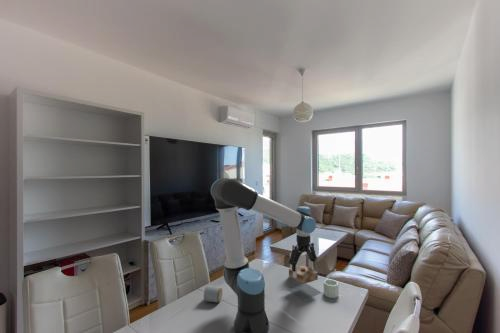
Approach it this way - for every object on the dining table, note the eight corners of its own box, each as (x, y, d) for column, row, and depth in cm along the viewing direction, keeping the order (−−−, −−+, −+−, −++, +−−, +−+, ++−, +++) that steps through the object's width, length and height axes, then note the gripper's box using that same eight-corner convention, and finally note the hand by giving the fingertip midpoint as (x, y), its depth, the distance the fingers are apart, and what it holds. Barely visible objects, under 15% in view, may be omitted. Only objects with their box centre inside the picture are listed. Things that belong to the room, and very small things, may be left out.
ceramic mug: (218, 305, 121) (218, 290, 122) (203, 304, 123) (203, 288, 123) (224, 295, 132) (224, 280, 132) (210, 293, 133) (210, 279, 133)
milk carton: (290, 276, 153) (289, 246, 153) (299, 274, 156) (298, 244, 156) (296, 281, 146) (296, 249, 146) (306, 278, 149) (305, 248, 149)
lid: (302, 284, 126) (302, 274, 126) (288, 276, 135) (288, 267, 135) (317, 279, 131) (317, 270, 131) (303, 272, 141) (303, 263, 141)
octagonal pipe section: (331, 300, 125) (331, 287, 125) (320, 293, 131) (320, 281, 131) (341, 296, 129) (341, 283, 129) (330, 290, 135) (330, 278, 135)
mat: (302, 301, 124) (302, 300, 124) (286, 290, 135) (286, 289, 135) (322, 293, 131) (322, 292, 131) (305, 283, 143) (305, 282, 143)
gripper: (291, 239, 124) (291, 282, 124) (323, 233, 136) (323, 272, 136) (282, 235, 131) (281, 276, 130) (313, 230, 143) (313, 268, 142)
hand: (303, 274), depth 133 cm, fingers closed on lid, 11 cm apart
